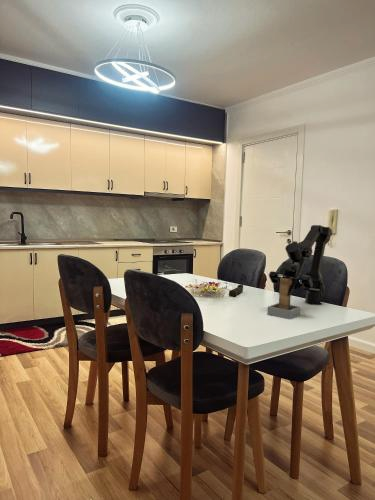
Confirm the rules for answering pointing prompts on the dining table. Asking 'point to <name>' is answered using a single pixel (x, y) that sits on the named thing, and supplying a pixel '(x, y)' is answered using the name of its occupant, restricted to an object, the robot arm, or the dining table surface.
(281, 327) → the dining table surface
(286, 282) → the brown wooden block
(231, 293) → the hand tool
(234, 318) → the dining table surface
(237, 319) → the dining table surface
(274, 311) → the tray
